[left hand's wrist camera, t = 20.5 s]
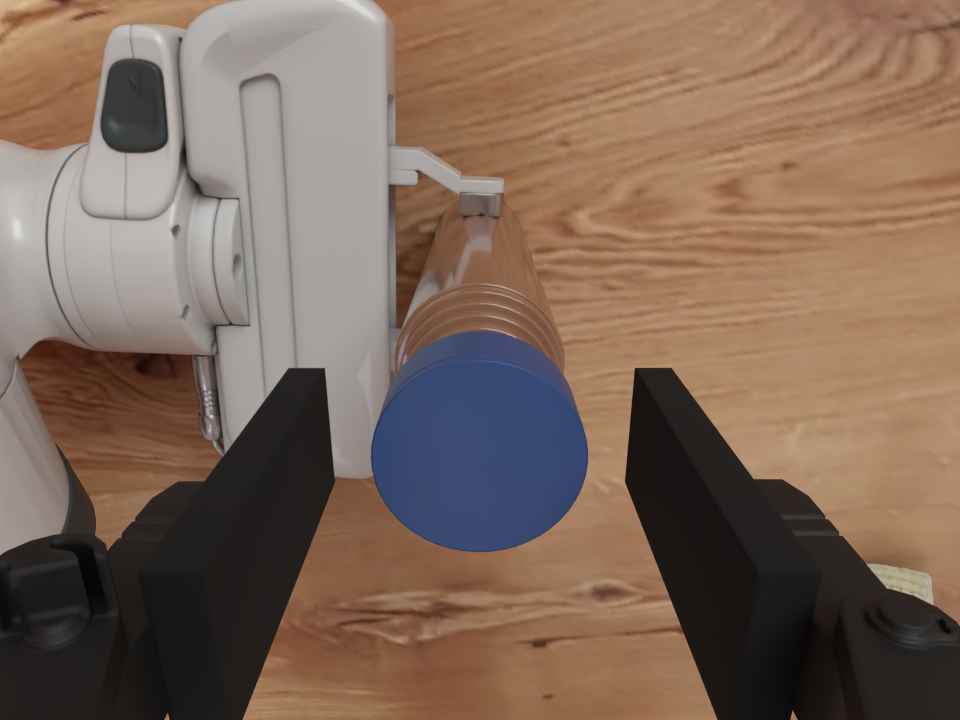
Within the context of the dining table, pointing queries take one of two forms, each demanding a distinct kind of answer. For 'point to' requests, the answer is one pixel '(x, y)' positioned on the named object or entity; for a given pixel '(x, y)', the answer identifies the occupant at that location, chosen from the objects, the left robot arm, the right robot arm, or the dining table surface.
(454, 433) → the cap
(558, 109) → the dining table surface
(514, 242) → the bottle
